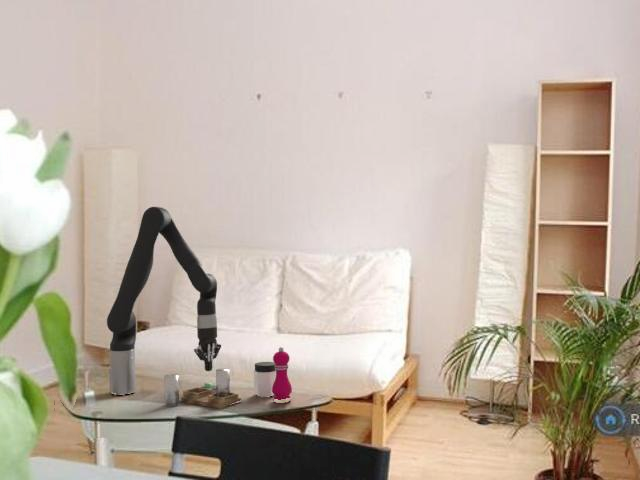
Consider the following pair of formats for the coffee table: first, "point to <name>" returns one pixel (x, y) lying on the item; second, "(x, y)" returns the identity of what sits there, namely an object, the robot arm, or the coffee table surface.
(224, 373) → the seated billet
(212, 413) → the coffee table surface
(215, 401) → the wooden tray
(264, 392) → the jar
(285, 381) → the pepper mill
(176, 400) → the cylinder
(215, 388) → the grey square box
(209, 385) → the button
